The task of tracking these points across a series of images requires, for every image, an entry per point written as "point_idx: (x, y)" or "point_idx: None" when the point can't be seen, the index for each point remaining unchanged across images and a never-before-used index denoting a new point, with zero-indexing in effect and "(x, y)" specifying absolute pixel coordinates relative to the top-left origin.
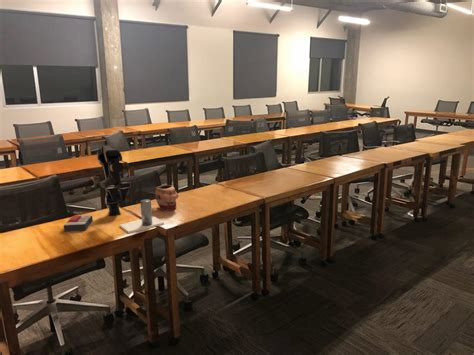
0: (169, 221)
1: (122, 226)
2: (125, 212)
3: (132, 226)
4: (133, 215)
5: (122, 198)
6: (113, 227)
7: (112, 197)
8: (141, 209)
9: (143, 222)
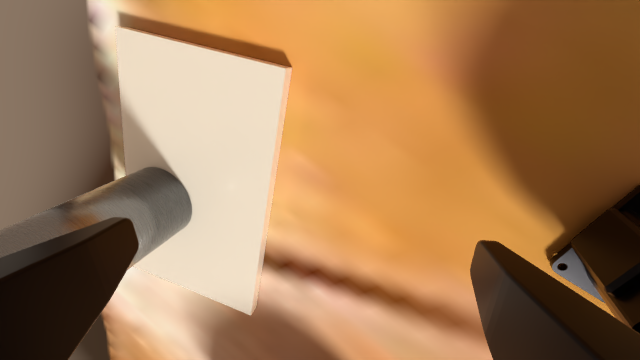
0: (156, 298)
1: (235, 60)
2: None
3: (185, 112)
4: (416, 291)
5: (53, 249)
6: (318, 13)
7: (519, 292)
8: (26, 227)
9: (128, 175)
